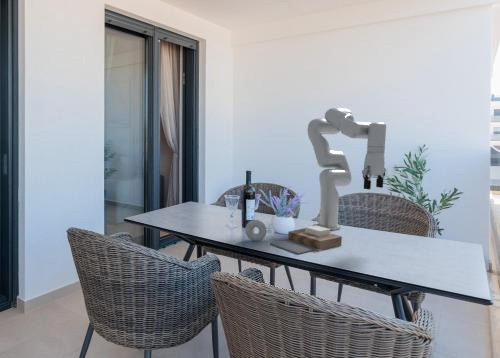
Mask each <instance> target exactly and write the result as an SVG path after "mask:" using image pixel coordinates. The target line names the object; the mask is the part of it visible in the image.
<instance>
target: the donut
mask: <svg viewBox="0 0 500 358" xmlns="http://www.w3.org/2000/svg"><path fill="white" fill-rule="evenodd" d="M254 228H257V229H258V230H259V231H258V232H257V233H254V232H253V229H254ZM244 229H245V230H244V231H245V235H246V237H247V238H248V239H249V240H250V241H253V242H259V241H262V240H263V239H264V238H265V237H266V235H267V227H266V224H265V223H264V222H263V221H261V220H259V219H252V220H250V221H248V223H246V225H245V227H244Z"/></svg>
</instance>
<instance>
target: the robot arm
mask: <svg viewBox="0 0 500 358" xmlns="http://www.w3.org/2000/svg"><path fill="white" fill-rule="evenodd" d="M338 133H341V134H342V135H344V136H346V137H348V138H349V139H350V138H351V139H364V140H365V139H367V142H366V143H367V144H366V145H367V146H366V153H365V158H364V162H363V169H362V171H361V174H362V177H363V178H362V179H363V189H364V190H371V187H372V186H371V185H372V180H371V179H372V178H373V177H377V178H376V181H375V187H376V188H381V189H383V188H384V179H385V176H386V173H387V168H386V167H385V150H386V137H387V135H386V134H387V124H386V123H385V122H367V121H355V118H354V116H353V113H352V111H351V110H349V109H347V108H339V107H337V108H336V107H332V108H328V110H326V111H325V113H324V118H315V119H311V120H310V121H309V123H308V124H307V136H308V139H309V141H310V143H311V146H312V147H313V151H314V155H315V158H316V161H317V164H318V167H319V168H321V169H323V170H321V172H320V173H319V177H318V178H319V179H318V180H319V186H320V203H319V204H320V205H319V216H316V218H315V219H314V221H315V222H317V224H316V226H320V227H324V228H328V229H330V231H333V230H334V231H336V230H340V229H341V225H340V224H339V202H340V201H339V200H340V199H339V198H340V197H339V192H338V190H337V188H336V187H347V186H349V185H350V184H351V183H352V172H351V169H350V165H349V163H348V161H347V160H348V159H347V157H346V155H345V153H344V152H343V151H340V150H332V149H331V147H330V144H329V142H328V140H327V139H326V138H325V137H324V136H323V135H336V134H338Z"/></svg>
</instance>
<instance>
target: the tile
mask: <svg viewBox="0 0 500 358" xmlns="http://www.w3.org/2000/svg"><path fill="white" fill-rule="evenodd" d="M305 232H306V233H309V234H313V235H316V236H324V235H329V234H330V233H331V230H330V229H328V228H324V227H320V226H317V224H315V225H311V226H310V225H309V226H305Z"/></svg>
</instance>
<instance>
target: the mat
mask: <svg viewBox="0 0 500 358" xmlns="http://www.w3.org/2000/svg"><path fill="white" fill-rule="evenodd" d="M269 244H270V245H271V246H274V247H276V248H279V249H281V250H285V251H288V252H290V253H292V254H295V255H302V254H306V253H310V252H315V251H317V250H318V249H316V248H313V247H310V246H307V245H304V244H301V243H298V242H295V241H292V240H289V239H282V240H278V241H274V242H269Z"/></svg>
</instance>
